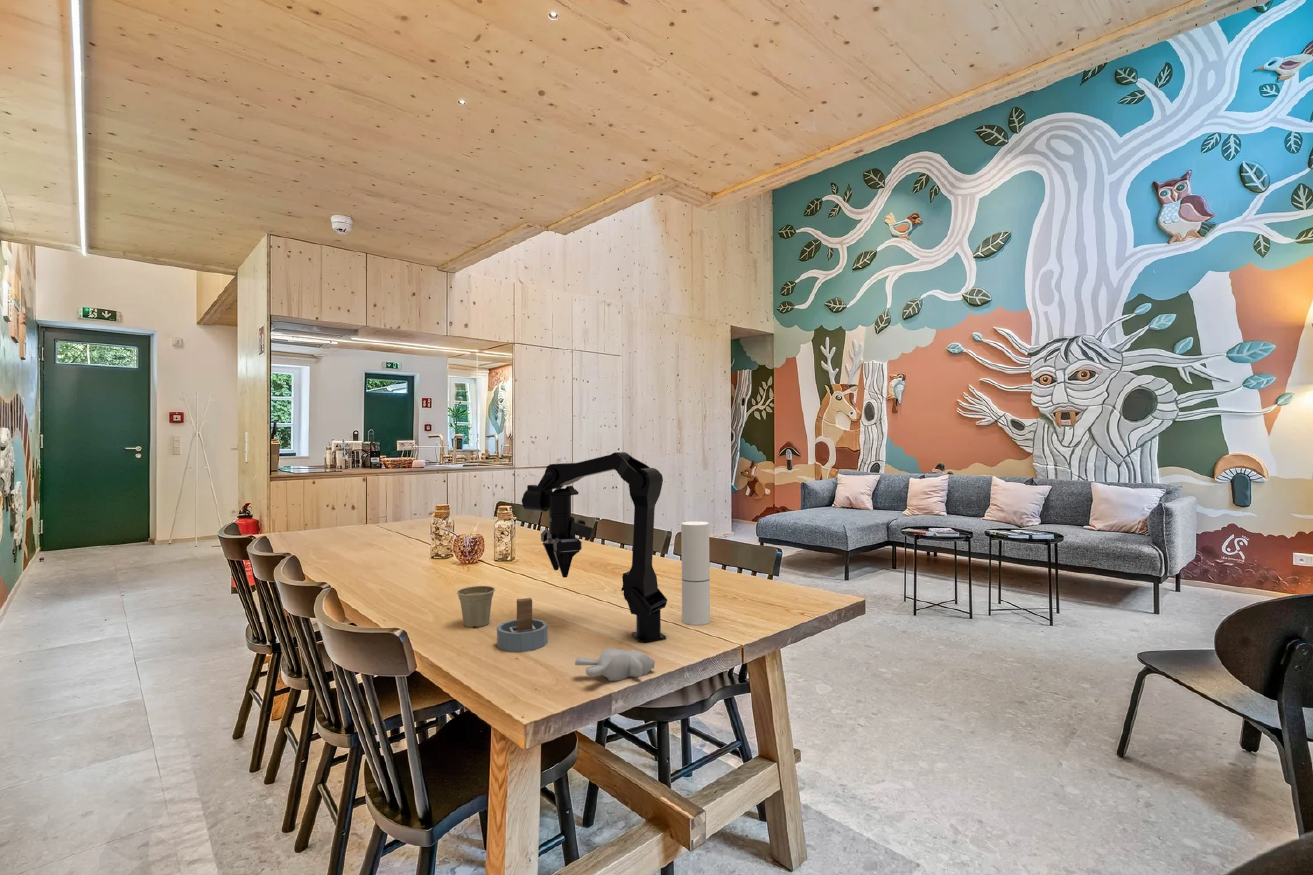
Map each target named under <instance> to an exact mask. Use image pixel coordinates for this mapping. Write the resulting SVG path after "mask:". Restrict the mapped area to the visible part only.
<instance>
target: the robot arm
mask: <svg viewBox="0 0 1313 875" xmlns="http://www.w3.org/2000/svg"><path fill="white" fill-rule="evenodd" d="M610 471H616V473H617V474H618V475H619V477H620V478H621V479H622V480H623V481H624V482H626V483H627V484H628V490H629V496H630V498H631V501H632V503H633V506H634V509H633V510H634V512H633V531H632V532H633V533H632V535H633V536H632V554H631V555H632V556H631V557H632V558H631V560H632V561H631V567H630V570H629V571H626V572H623V573H622V587H621V589H620V591H621V592H623V598H624V600H625V601H626V602H627V605H628V607H629V608H628V610H629V612H630V614H631V615H634V616H635V617H636V621H635V623H636V625H635V626H636V629H635V630H636V631H633V632H631V636H633V638H635V639H636V640H638V642H639V643H646V642H653V641H654V642H655V641H660V640H661V641H662V640H667V636H666V634H664V633H662V626H661V625H662V624H661V623H662V621H661V610H662V609H664V608H666V607H667V603H668V599H667V597H666V596H665V595H664V593H663V592H662V591H661V590H660V588H659V585H658V577H657V574H656V571H655V569H654V568H653V551H654V534H655V533H654V528H655V508H656V504H657V502H658V500H659V498H660V496H661V493H662V487H663V482H664V478H663V475H662V473H661V472H660V471H659V470H658V469H657V468H655V467H650V466H649V465H647V464H646V463H644V462H642V461H640V460H638V459H636V458H635V457H633V456H632V455H630V454H629V453H627V452H625V451H620V452H616V451H615V452H613V453H611V454H607V455H602V456H600V457H594V458H592V459H591V458H590V459H587V460H586V459H585V460H583V461H579V462H565V463H564V462H562V463H561V462H560V463H551V464H548V465H547V466H546V469H545V471H544V474H543V476H542V477H541V479H540V481H539V483H538V484H528V485H527V486H526V487H527V488H526V490H525V491H524V493H523V494H522V495H523V496H522V498H521V504H522V507H523V509H524V510H525V511H528V512H529V511H531V512H532V511H533V512H548V515H547V516H546V521H548V529H544V530H543V531H542V532H541V533H540V541H541V542H542V546H543V547H544V550H545V553H546V555H547V556H548V559H549V561H550V564H551V566H552V568H553V571H558V570H559V571H560V573H561V576H562V578H568V577H569V572H570V569H571V564H572V561H573V558H574V556H575V555H576V554H578V553H580V551H581V550H582V549H583V548H582V541H581V540H580V539H579V538H578V537H581V538H585V539H586V540H588V541H591V539H592V537H593V533H594V530H595V528H594V527H592V526H589V525H586V521H585V520H583V519H579V518H578V519H576V520H575V517H574V516H572V496H576V495H579V491H578V490H577V489H576V488H574V486H573V485H572V484H574V483H576V482H578V481H580V480H581V479H583V478H585V477H588V476H592V475H593V476H594V475H598V474H602V473H606V472H610ZM565 486H566V487H565ZM563 487H565V488H563Z"/></svg>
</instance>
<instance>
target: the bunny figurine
mask: <svg viewBox="0 0 1313 875" xmlns="http://www.w3.org/2000/svg"><path fill="white" fill-rule="evenodd" d="M655 663H656V661H655V660H654V659H653V658H651V657H650V656H648V655H647V654H645V653H643V652H642V651H640V650H639V649H631V650H622V649H619V648H613V647H611V648H606V649H602V651H601V653H600V654H599V657H598V659H596V658H588V657H577V658H576V660H575V662H574V665H575V666H589V667H585V674H586V676H588V677H593V678H594V677H598V676H599V675H602V676H603V677H605V678H607V680H608V681H609V682H614V681H622V680H625V679H626V678H628V677H636V678H637V677H638V678H639V677H641V676H646V675H647V674H649V673H650V671H651V670H653V669H655Z"/></svg>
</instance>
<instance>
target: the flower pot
mask: <svg viewBox="0 0 1313 875" xmlns="http://www.w3.org/2000/svg"><path fill="white" fill-rule="evenodd" d="M495 591H496V588H495V587H494V586H491V585H490V586H489V585H474V586H466V587H462V588H460V589H457V591H456V594H457V595H458V596H457V597H458V600H459V601H460V609H461V614H462V621H463V626H464V627H467V628H473V627H477V628H479V627H484V626H487V625H488V624H489V622H490V618H491V617H490V616H491V610H492V608H491V607H492V600H493V596H494V592H495Z"/></svg>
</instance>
